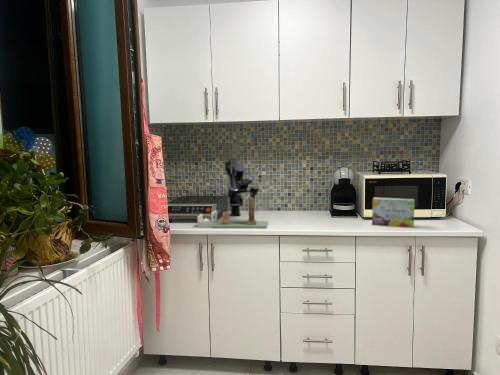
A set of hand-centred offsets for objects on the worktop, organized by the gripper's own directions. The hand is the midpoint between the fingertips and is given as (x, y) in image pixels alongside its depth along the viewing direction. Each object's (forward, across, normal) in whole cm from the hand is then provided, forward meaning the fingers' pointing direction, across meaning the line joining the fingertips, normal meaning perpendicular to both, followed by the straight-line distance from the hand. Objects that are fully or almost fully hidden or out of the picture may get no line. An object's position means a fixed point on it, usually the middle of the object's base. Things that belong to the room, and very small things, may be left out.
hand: (247, 202), depth 211 cm
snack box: (+39, +68, -22) cm, 82 cm away
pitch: (+9, -10, +8) cm, 16 cm away
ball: (+2, -23, +12) cm, 26 cm away
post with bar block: (+9, -6, +6) cm, 13 cm away
